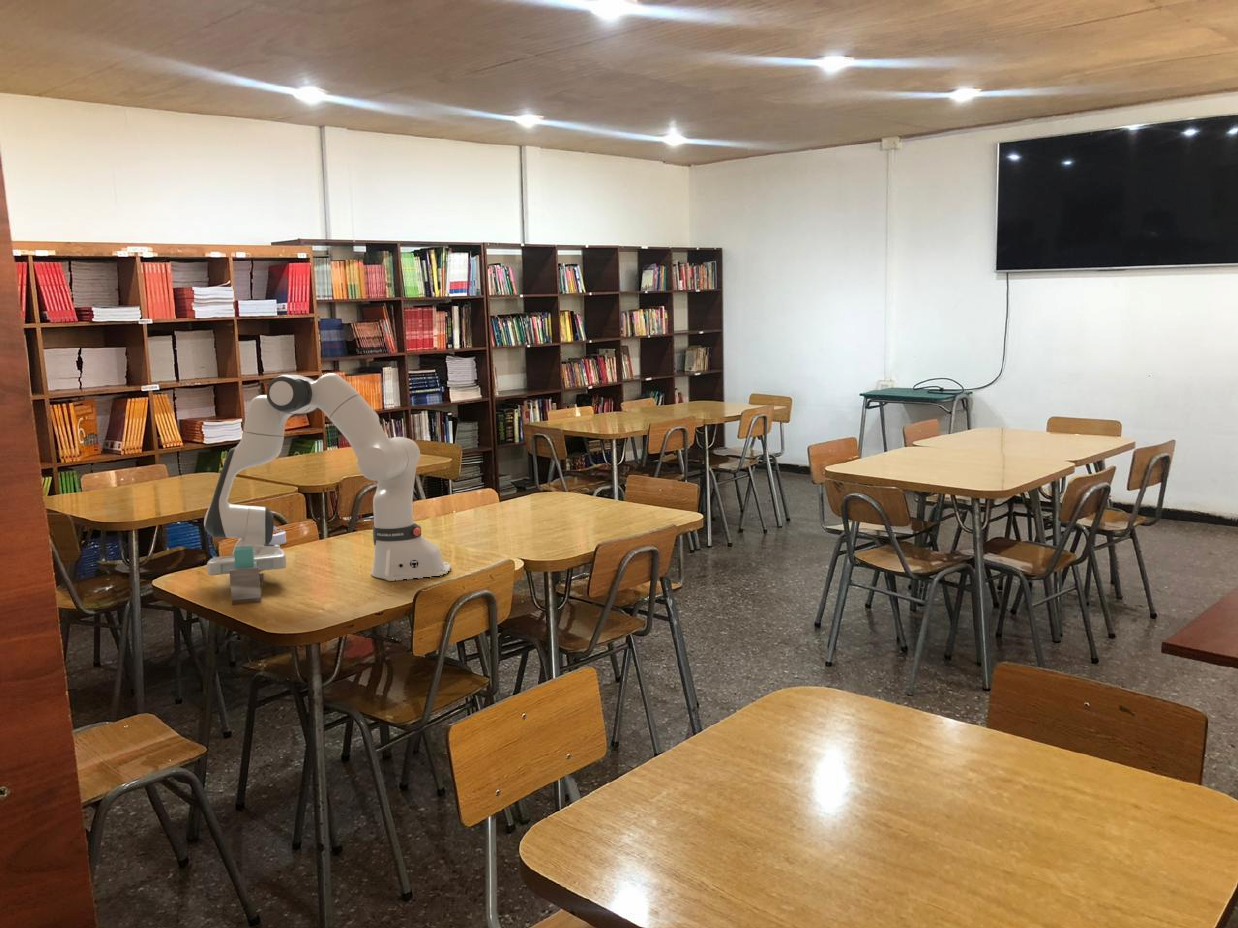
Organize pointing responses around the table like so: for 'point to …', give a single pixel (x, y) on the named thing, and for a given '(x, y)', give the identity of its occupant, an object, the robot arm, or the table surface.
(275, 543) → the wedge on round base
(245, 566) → the block
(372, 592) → the table surface
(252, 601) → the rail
